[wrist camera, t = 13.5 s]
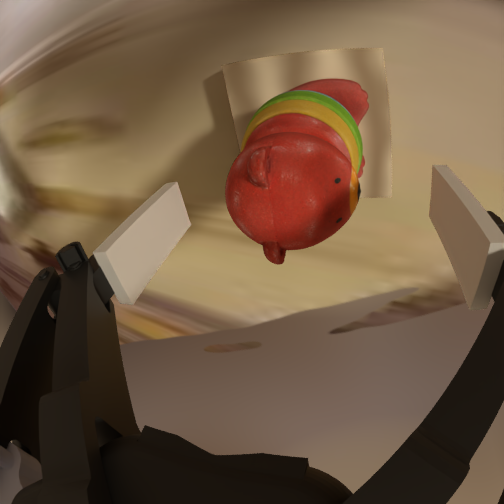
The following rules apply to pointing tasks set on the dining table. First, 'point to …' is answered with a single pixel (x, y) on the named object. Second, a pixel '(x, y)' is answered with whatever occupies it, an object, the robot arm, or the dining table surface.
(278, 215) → the stacking bear
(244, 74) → the maple block
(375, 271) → the dining table surface
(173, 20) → the dining table surface
